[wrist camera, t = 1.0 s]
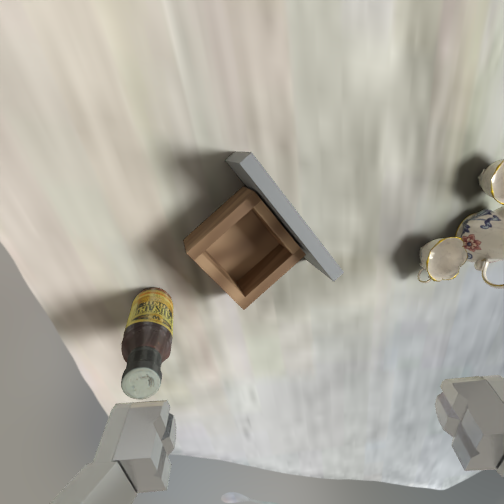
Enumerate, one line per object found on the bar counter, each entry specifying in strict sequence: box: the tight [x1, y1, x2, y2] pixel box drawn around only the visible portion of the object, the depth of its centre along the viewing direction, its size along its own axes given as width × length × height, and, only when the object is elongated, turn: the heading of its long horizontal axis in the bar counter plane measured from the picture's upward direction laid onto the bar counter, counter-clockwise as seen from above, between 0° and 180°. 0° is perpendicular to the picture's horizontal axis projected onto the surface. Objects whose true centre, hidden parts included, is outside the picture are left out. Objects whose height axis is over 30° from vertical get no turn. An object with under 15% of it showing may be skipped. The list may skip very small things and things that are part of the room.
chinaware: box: [418, 159, 504, 288], centre depth 57 cm, size 28×17×17 cm, turn 148°
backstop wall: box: [225, 151, 344, 281], centre depth 49 cm, size 22×2×10 cm, turn 39°
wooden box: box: [183, 186, 306, 310], centre depth 50 cm, size 12×12×7 cm
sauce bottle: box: [121, 288, 173, 399], centre depth 44 cm, size 6×6×20 cm
